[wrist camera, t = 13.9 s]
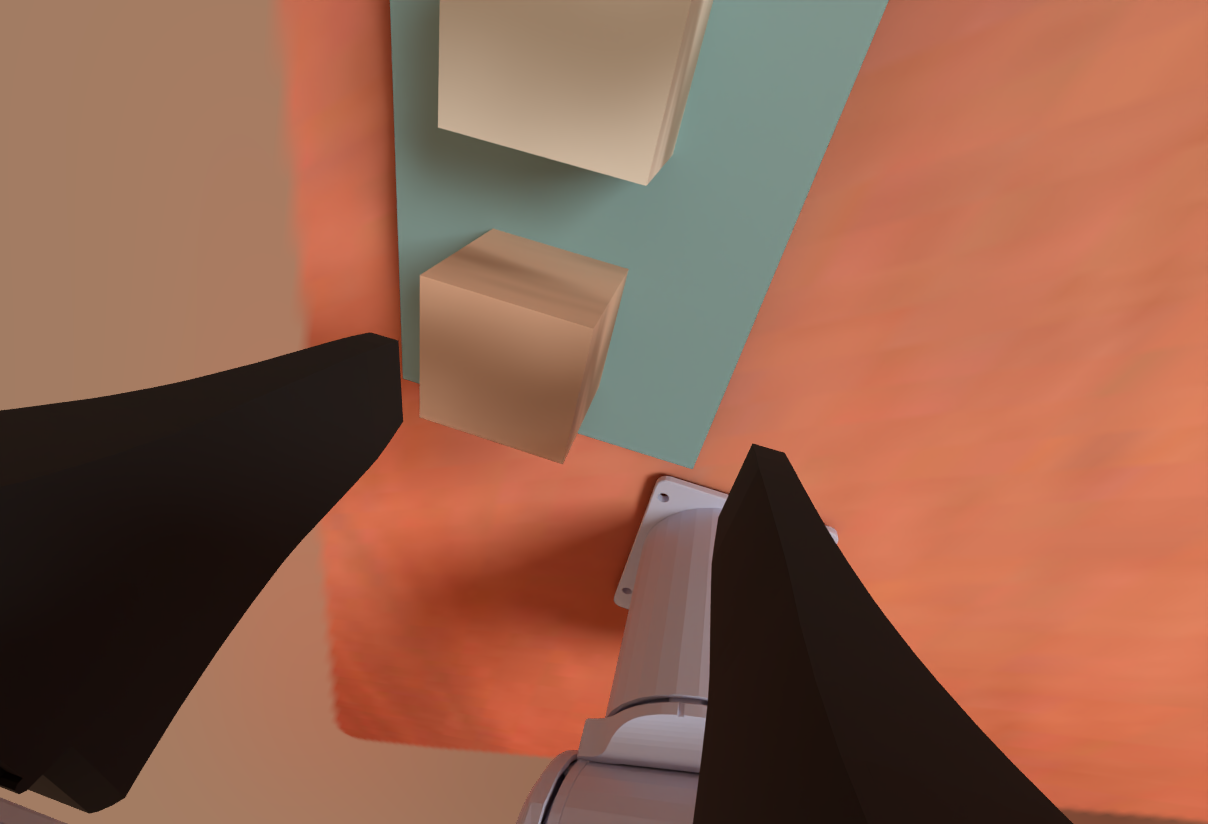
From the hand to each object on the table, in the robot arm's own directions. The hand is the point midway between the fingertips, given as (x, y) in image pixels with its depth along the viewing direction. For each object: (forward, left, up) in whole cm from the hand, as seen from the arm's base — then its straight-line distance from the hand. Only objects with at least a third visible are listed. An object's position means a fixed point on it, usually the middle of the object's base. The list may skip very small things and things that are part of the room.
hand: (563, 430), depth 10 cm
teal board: (+2, +2, -9) cm, 10 cm away
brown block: (-2, +3, -8) cm, 8 cm away
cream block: (+6, +2, -8) cm, 10 cm away
